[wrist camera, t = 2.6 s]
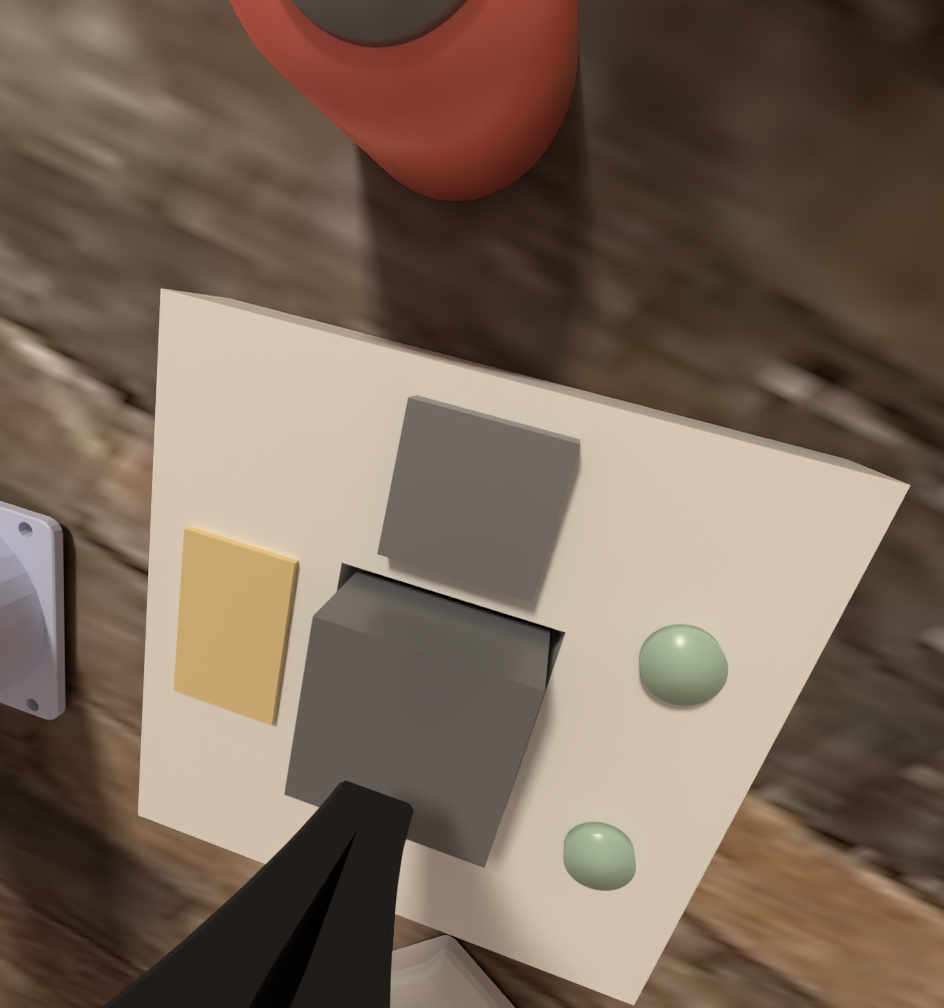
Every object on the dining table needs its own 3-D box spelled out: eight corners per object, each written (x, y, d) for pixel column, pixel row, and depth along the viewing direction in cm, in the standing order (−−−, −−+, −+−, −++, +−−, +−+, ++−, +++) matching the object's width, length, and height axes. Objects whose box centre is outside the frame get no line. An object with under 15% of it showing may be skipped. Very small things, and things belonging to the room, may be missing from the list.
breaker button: (328, 726, 15) (284, 794, 13) (357, 570, 13) (313, 616, 11) (498, 786, 14) (484, 868, 12) (550, 630, 13) (544, 691, 10)
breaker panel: (191, 757, 19) (122, 831, 16) (230, 298, 14) (140, 285, 11) (626, 917, 17) (636, 1030, 15) (846, 458, 12) (930, 493, 9)
